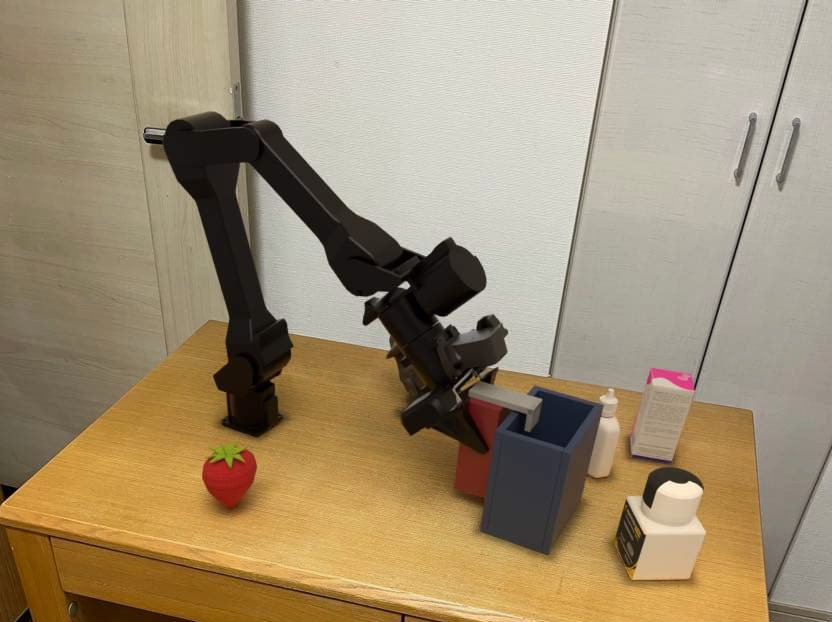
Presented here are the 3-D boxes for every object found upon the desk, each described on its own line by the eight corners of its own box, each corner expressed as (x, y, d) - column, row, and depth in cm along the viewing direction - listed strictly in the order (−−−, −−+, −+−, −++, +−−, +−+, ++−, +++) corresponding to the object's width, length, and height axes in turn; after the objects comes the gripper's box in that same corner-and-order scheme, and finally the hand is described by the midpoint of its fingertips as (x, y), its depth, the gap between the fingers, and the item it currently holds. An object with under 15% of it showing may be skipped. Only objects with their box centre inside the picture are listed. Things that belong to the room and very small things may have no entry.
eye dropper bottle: (607, 459, 113) (627, 382, 105) (608, 481, 108) (629, 402, 101) (576, 454, 113) (593, 377, 106) (576, 476, 109) (594, 397, 101)
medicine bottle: (612, 542, 98) (636, 459, 90) (668, 542, 98) (696, 459, 91) (630, 581, 92) (657, 496, 85) (689, 580, 93) (721, 496, 85)
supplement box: (672, 464, 112) (695, 391, 105) (629, 458, 113) (650, 385, 106) (670, 443, 117) (692, 372, 110) (629, 437, 118) (648, 366, 110)
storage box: (479, 531, 98) (495, 430, 89) (517, 480, 107) (534, 385, 98) (548, 555, 95) (570, 453, 86) (580, 501, 104) (604, 404, 95)
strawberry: (269, 497, 101) (266, 428, 95) (236, 530, 95) (230, 459, 89) (229, 484, 103) (223, 416, 96) (194, 515, 97) (185, 445, 91)
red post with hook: (453, 487, 101) (465, 393, 93) (469, 469, 105) (482, 377, 97) (513, 508, 99) (530, 413, 90) (527, 488, 102) (545, 395, 94)
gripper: (433, 329, 82) (517, 452, 86) (501, 275, 96) (571, 383, 99) (364, 378, 90) (444, 489, 93) (435, 321, 103) (503, 420, 106)
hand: (494, 442), depth 98 cm, fingers closed on red post with hook, 5 cm apart
